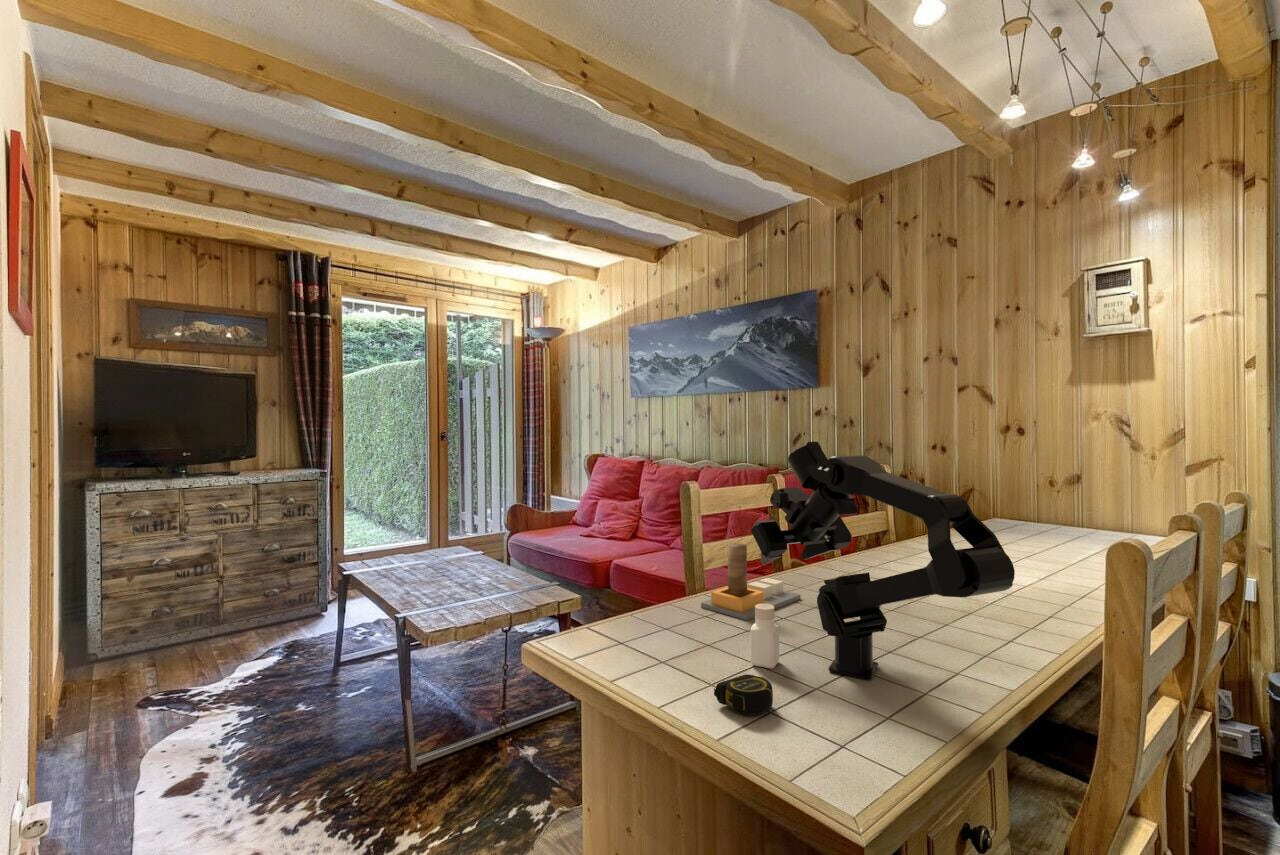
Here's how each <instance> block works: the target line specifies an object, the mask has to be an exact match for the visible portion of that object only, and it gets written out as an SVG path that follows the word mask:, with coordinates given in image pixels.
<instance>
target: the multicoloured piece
mask: <svg viewBox="0 0 1280 855" xmlns="http://www.w3.org/2000/svg"><path fill="white" fill-rule="evenodd" d="M799 600H801V593H796V592H793V591H787V590H784V581H782V580H779V579H773V578H769V577H765V578H763V579H759V580H758V582H757V581H753V582H751V583H747V595H746V596H743V597H736V596H733V595H729V594H728V586H726V587H722V588H719V589H717V590H714V591H711V592H710V599H708V600H706V601H701V602H700V608H702V609H706V610H708V611H709V610H710V611H711V612H716V613H720V614H724V615H726V616H730V617H733V618H736V619H741V620H744V621H749V620H752V619H755V605H757V604H770V605H773V606H774V610H776V609H780V608H781V607H784V606H786V605H788V604H789V605H790V604H791V603H794V602H797V601H799Z"/></svg>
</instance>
